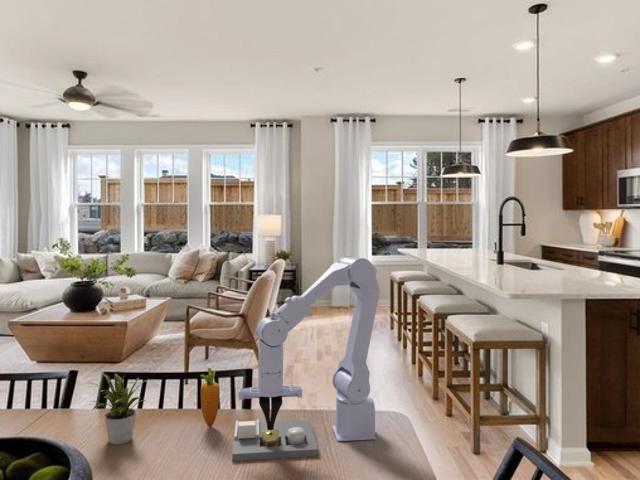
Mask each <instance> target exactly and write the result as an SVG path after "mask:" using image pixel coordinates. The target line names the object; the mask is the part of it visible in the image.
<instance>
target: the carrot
mask: <svg viewBox="0 0 640 480" xmlns="http://www.w3.org/2000/svg"><path fill="white" fill-rule="evenodd" d="M207 373H208V375H206V374H200V377H201V378H203V379H204V380H205V381H206V382H205V383H203V384H201V387H200V407H201V412H202V417H203V419H204V422H205V424H206V425H207V427H208V428H211V427H213V425H214V424H215V421H216V419H217V415H218V411H219V410H218V409H219V404H220V384H219V383H218V382H215V381H214V379H215V376H216V371H215V370H213V371H212V367H208V368H207Z"/></svg>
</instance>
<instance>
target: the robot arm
mask: <svg viewBox="0 0 640 480" xmlns="http://www.w3.org/2000/svg"><path fill="white" fill-rule="evenodd" d="M377 272H378V270H377V268H376V267H375V266H374V265H373V263H372V262H371V261H370V260H369V259H367V258H364V257H352V256H350V255H345V256H342V257H340V258H339V259H338V260H337V261H335V262H334V263H332V264H331V265H330V267H329V268H328V269H327V270H326V271H325V272H324V273H323V274H322V275H321V276H320V277H319V278H318V279H316V281H315V282H314V283H313V284H311V286H309V288H308V289H306V290H305V292H303V293H302V294H301V295H292V296H291V297H289V296H288V297H286V298H285V299H284V303H283V304H282V305H281V306H280V307H279V308H278V309H276V310H275V311H271V312H270V313H269V316H267V317H264V318H262V319H260V321H259V322H258V323H257V326H256V328H255V331H254V332H255V335H256V336H257V338H258V370H257V371H258V372H257V374H258V376H257V377H258V380H257V381H258V386H252V387H244V388H239V389H238V400H239V401H243V400H245V399H258V404H259V406H260V409H261V412H262V414H263V415H264V419H265V422H266V423H267V430H274V423H275V422H276V419H277V416H278V414H279V411H280V410H281V407H282V405H283V398H291V397H292V398H294V397H295V398H296V397H297V399H298V398H303V387H302V386H293V385H290V386H289V385H284V343H285V342H286V340H287V337H288V333H289V332H291V330H292V331H293V329H294V328H295V327H296V326H298V325H299V324H300V323H301V322H302V321H303V320H304V319H305V318H306V317H308V316H309V315H310V311H311V307H312V306H313V305H314V304H315V303H317V302H318V301H319V300H320V299H321V298H323V297H324V296H325V295H327V294H328V293H329V292H330V291H331V290H333V289H334V288H335V287H338V286H349V287H350V288H351V290H352V291H353V292H354V294H355V295H356V299H355V304H354V308H353V313H352V319H351V324H350V328H349V335H348V338H347V343H346V349H345V353H344V354H345V355H344V357H343V358H342V359H341V360H340V361H338V366H337V369H336V370H335V372H334V373H333V375H332V385H333V388H334V389H335V390H336V398H335V403H336V404H335V405H336V411H335V415H336V416H335V422H336V423H335V425H332V430H333V431H332V432H333V433H334V436H335V438H336V441H337V442H347V441H349V442H350V441H364V440H365V441H367V440H376V437H377V436H376V407H375V402H374V398H373V397H370V392H371V384H370V375H371V374H370V373H371V372H370V369H369V368H368V365H367V358H368V354H369V348H370V342H371V340H372V339H371V338H372V333H373V329H374V322H375V318H376V313H377V308H378V303H379V297H380V289H379V284H378V281H377Z"/></svg>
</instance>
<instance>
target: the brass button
mask: <svg viewBox="0 0 640 480" xmlns="http://www.w3.org/2000/svg"><path fill="white" fill-rule="evenodd" d="M261 445H262V447H273V446H279V445H280V442H279V431H278V430H277V429H274V430H267V429H265V430H263V431H262V443H261Z"/></svg>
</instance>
